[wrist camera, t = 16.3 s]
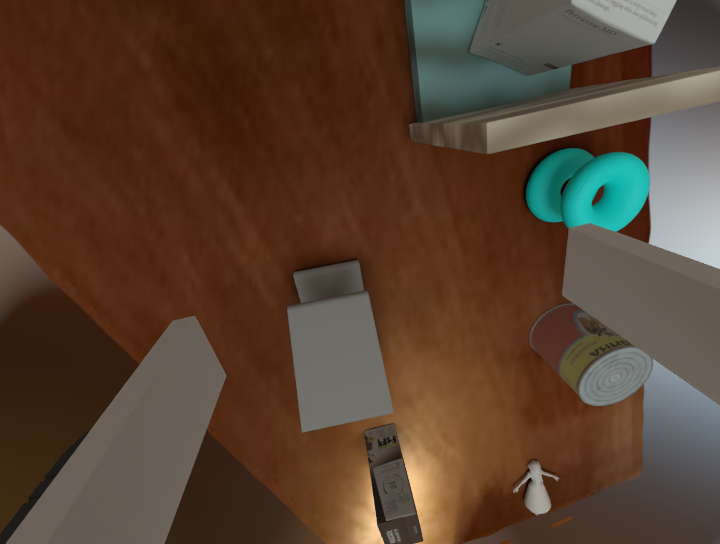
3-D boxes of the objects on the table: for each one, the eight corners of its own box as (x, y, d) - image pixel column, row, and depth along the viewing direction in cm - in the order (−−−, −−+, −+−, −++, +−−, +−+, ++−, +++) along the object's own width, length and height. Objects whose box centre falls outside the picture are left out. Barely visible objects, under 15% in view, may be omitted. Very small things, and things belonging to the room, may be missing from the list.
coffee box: (362, 430, 62) (376, 524, 47) (394, 422, 62) (417, 513, 47) (371, 458, 66) (386, 553, 51) (401, 451, 66) (424, 543, 51)
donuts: (675, 172, 35) (617, 251, 39) (602, 163, 44) (560, 227, 48) (611, 138, 33) (555, 225, 36) (548, 135, 42) (508, 205, 45)
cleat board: (393, -8, 33) (482, -166, 15) (573, -47, 34) (865, -244, 16) (411, 141, 40) (487, 154, 22) (561, 107, 40) (757, 92, 22)
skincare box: (466, 53, 34) (561, 6, 21) (489, -15, 32) (612, -116, 19) (530, 77, 36) (655, 49, 23) (556, 15, 34) (713, -58, 20)
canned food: (598, 303, 55) (667, 346, 44) (575, 354, 60) (632, 404, 49) (540, 303, 53) (596, 347, 43) (521, 355, 58) (567, 407, 47)
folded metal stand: (293, 269, 45) (277, 363, 27) (357, 257, 46) (382, 342, 28) (320, 364, 53) (320, 485, 35) (374, 353, 54) (402, 468, 36)
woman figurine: (521, 525, 77) (515, 479, 70) (511, 506, 81) (505, 460, 74) (567, 512, 76) (565, 464, 70) (554, 494, 81) (552, 447, 74)
